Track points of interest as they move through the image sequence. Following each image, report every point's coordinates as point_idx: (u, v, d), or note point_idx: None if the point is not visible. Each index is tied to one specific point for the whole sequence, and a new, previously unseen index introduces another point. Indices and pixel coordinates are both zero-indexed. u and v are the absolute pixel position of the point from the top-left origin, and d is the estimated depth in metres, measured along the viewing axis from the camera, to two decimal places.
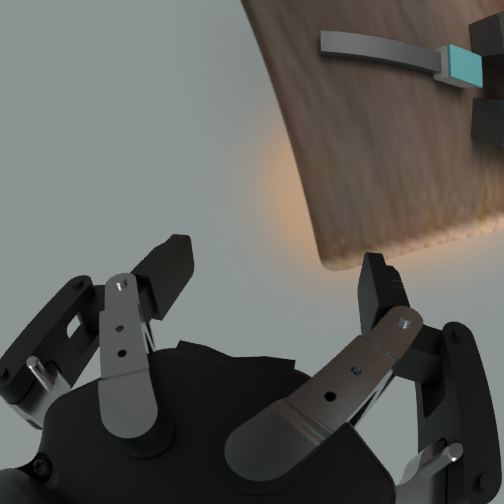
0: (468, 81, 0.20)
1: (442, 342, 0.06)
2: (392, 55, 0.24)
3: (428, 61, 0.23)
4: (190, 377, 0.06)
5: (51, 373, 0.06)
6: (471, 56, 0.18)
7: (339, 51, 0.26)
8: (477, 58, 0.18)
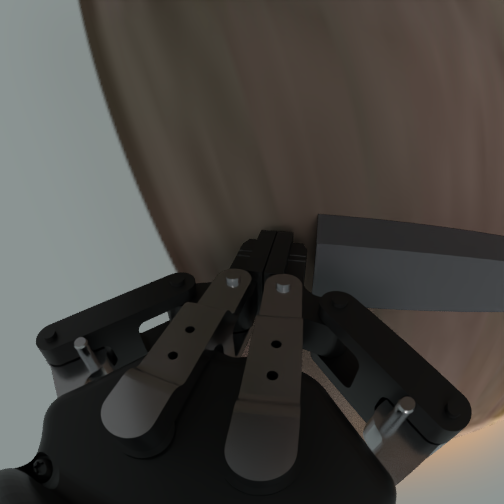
0: None
1: (326, 317, 0.08)
2: (484, 301, 0.10)
3: None
4: None
5: (98, 360, 0.07)
6: None
7: None
8: None
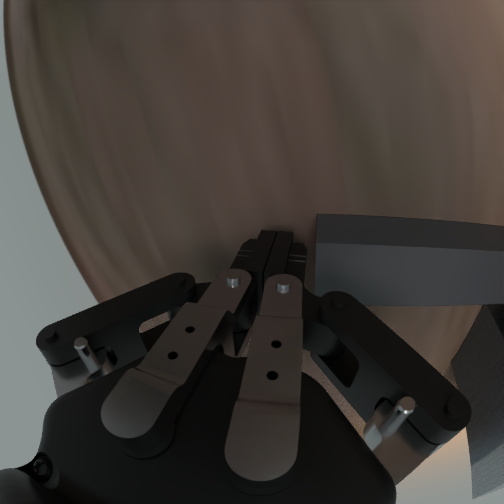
0: None
1: (326, 317, 0.08)
2: (488, 293, 0.10)
3: None
4: None
5: (98, 360, 0.07)
6: None
7: (364, 302, 0.12)
8: None
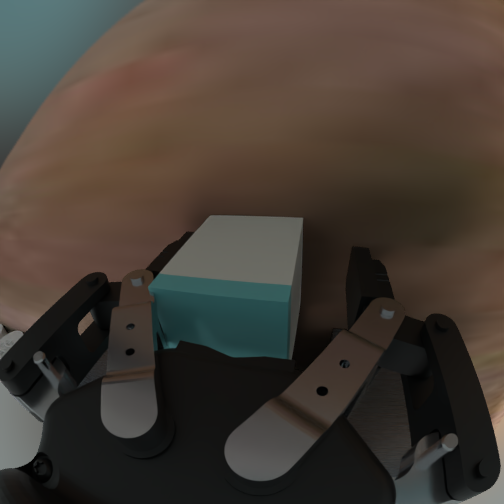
0: (283, 354, 0.09)
1: (425, 335, 0.07)
2: None
3: None
4: (190, 377, 0.06)
5: (58, 369, 0.06)
6: (176, 327, 0.09)
7: None
8: (168, 305, 0.09)
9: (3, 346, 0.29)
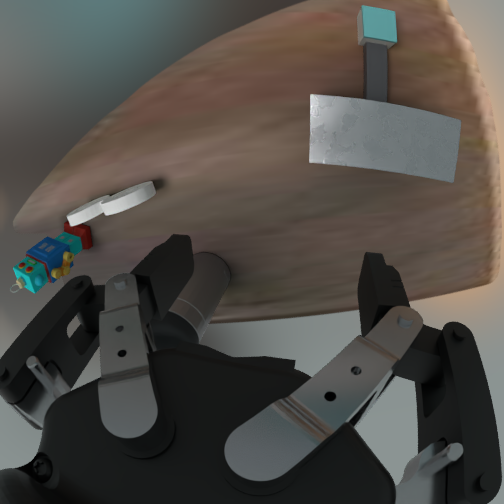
0: (395, 25, 0.23)
1: (442, 342, 0.06)
2: (382, 88, 0.30)
3: (380, 55, 0.28)
4: (190, 377, 0.06)
5: (51, 373, 0.06)
6: (367, 16, 0.23)
7: None
8: (366, 10, 0.23)
9: (123, 193, 0.47)
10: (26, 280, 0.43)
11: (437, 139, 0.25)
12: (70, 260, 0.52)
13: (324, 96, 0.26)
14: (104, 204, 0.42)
